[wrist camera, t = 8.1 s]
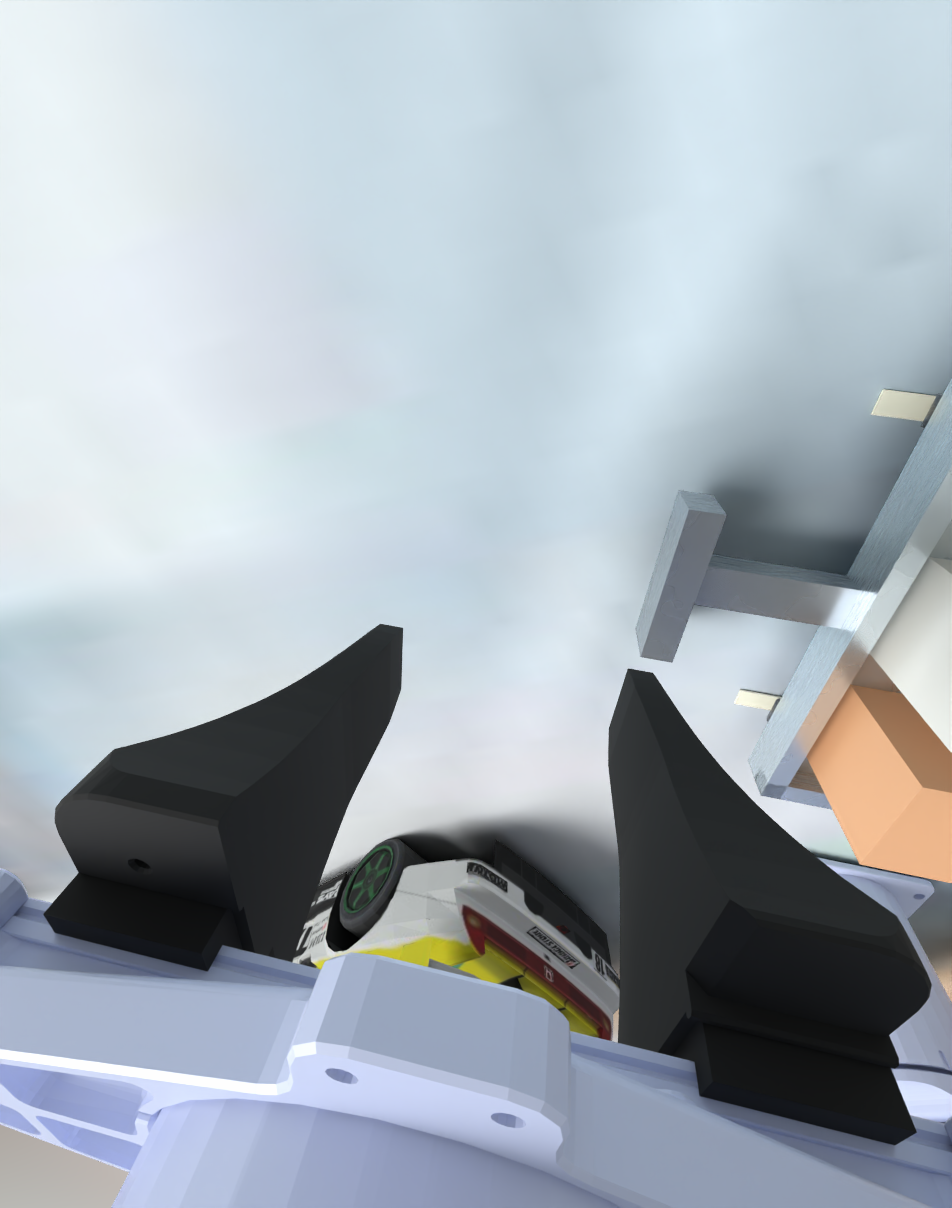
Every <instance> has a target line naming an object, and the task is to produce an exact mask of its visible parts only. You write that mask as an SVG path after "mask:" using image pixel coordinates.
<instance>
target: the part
mask: <svg viewBox="0 0 952 1208" xmlns="http://www.w3.org/2000/svg"><path fill="white" fill-rule="evenodd" d="M870 655H871V656H872V657H873V658H874V659H875V661H876V662H877V663H878V664H879V665H880V667H881V668H882V669H883V670H884V672H885V673H886V674H887V675H888V676H889V678H890V679H891V680H892V681H893V683H894V684H895V685H896V686H897V687H898V689H899V690H900V691H901V692H902V694H903V695H904V696H905V697H906V698H907V700H908V701H909V702H910V703H911V704H912V706H913V707H914V708H915V709H916V711H917V712H918V713H919V714H920V715H921V717H922V718H923V719H924V720H925V722H926V723H927V724H928V725H929V726H930V728H931V729H932V730H933V731H934V732H935V734H936V735H937V736H938V737H939V739H940V740H941V741H942V742H943V743H944V745H945V746H946V747H947V748H948V750H949V751H950V752H951V753H952V560H946V559H940V558H933V557H928V559H927V560H926V562H925V563H924V565H923V567H922V568H921V570H920V572H919V573H918V575H917V577H916V578H915V580H914V581H913V583H912V585H911V586H910V588H909V590H908V591H907V593H906V594H905V596H904V598H903V599H902V601H901V603H900V604H899V606H898V608H897V609H896V611H895V612H894V614H893V616H892V617H891V619H890V621H889V622H888V624H887V625H886V627H885V629H884V630H883V632H882V634H881V635H880V637H879V638H878V640H877V642H876V643H875V645H874V647H873V648H872V650H871V652H870Z"/></svg>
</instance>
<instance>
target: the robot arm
mask: <svg viewBox="0 0 952 1208" xmlns="http://www.w3.org/2000/svg"><path fill="white" fill-rule="evenodd" d="M402 643H403V628H400V627H395V626H389V625H383V624H380V625H378V626H377V627H375V628H374V629H372V630H371V631H370V632H368V633H367V634H366V635H364V636H363V637H362V638H360V639H359V640H358V641H356V642H355V643H353V644H352V645H351V646H349V647H348V648H347V649H345V650H344V651H342V652H341V653H340V654H338V655H337V656H335V657H334V658H332V659H331V660H330V661H328V662H327V663H325V664H324V665H322V666H321V667H319V668H318V669H316V670H314V671H313V672H311V673H310V674H308V675H307V676H305V677H303V678H302V679H300V680H299V681H297V682H295V683H293V684H292V685H290V686H288V687H286V688H284V689H282V690H281V691H279V692H277V693H275V694H273V695H271V696H269V697H267V698H265V699H263V700H260V701H258V702H256V703H254V704H252V705H249V706H247V707H244V708H242V709H240V710H237V711H235V712H233V713H230V714H228V715H226V716H223V717H221V718H218V719H215V720H213V721H210V722H207V723H204V724H201V725H199V726H196V727H193V728H189V729H186V730H183V731H180V732H177V733H174V734H170V735H167V736H164V737H160V738H156V739H152V740H149V741H145V742H141V743H137V744H133V745H130V746H126V747H121V748H117V749H114V750H113V751H112V752H111V753H110V754H108V755H107V756H106V757H105V758H104V759H103V760H102V761H101V762H100V763H99V764H98V765H97V766H96V767H95V768H94V769H93V770H92V771H91V772H90V773H89V774H88V775H87V776H86V777H85V778H84V779H82V780H81V781H80V782H79V783H78V784H77V785H76V786H75V787H74V788H73V789H72V790H71V791H70V792H69V793H68V794H67V795H66V796H65V797H64V798H63V799H62V800H61V801H60V803H59V804H58V805H57V807H56V809H55V824H56V827H57V830H58V833H59V835H60V837H61V839H62V841H63V843H64V845H65V847H66V849H67V851H68V853H69V855H70V857H71V859H72V861H73V862H74V864H75V866H76V868H77V870H78V872H79V873H78V874H77V876H76V877H75V878H74V879H73V880H72V881H71V882H70V884H69V885H68V886H67V887H66V888H65V889H64V891H63V892H62V893H61V894H60V895H59V896H58V897H57V899H56V900H55V901H54V902H53V903H50V902H46V901H42V900H38V899H34V898H30V897H28V893H27V890H26V888H25V886H24V884H23V883H22V881H21V880H20V879H19V878H18V877H17V876H16V875H14V874H13V873H11V872H9V871H8V870H5V869H2V868H0V1125H3V1126H6V1127H8V1128H11V1129H14V1130H16V1131H19V1132H22V1133H25V1134H27V1135H30V1136H33V1137H35V1138H38V1139H41V1140H44V1141H46V1142H49V1143H52V1144H54V1145H57V1146H60V1147H62V1148H65V1149H68V1150H70V1151H73V1152H76V1153H78V1154H81V1155H84V1156H87V1157H89V1158H92V1159H95V1160H97V1161H100V1162H103V1163H105V1164H108V1165H111V1166H113V1167H116V1168H119V1169H122V1170H124V1171H127V1172H129V1174H128V1176H127V1178H126V1180H125V1182H124V1184H123V1185H122V1187H121V1190H120V1191H119V1193H118V1195H117V1197H116V1199H115V1201H114V1203H113V1205H112V1207H111V1208H952V1002H951V1001H950V999H949V997H948V995H947V993H946V991H945V989H944V987H943V985H942V984H941V982H940V980H939V978H938V976H937V974H936V972H935V970H934V969H933V967H932V965H931V963H930V961H929V959H928V957H927V955H926V953H925V952H924V950H923V948H922V946H921V944H920V942H919V940H918V938H917V936H916V935H915V933H914V931H913V929H912V927H911V925H910V923H909V921H908V918H909V917H910V916H911V915H912V914H913V913H914V912H915V911H916V910H917V909H918V908H919V907H920V906H921V905H922V904H923V903H924V902H925V901H926V900H927V899H928V898H929V897H930V896H931V895H932V894H933V893H934V891H935V889H934V887H933V885H932V883H931V882H930V881H927V880H925V879H920V878H915V877H910V876H905V875H900V874H896V873H891V872H886V871H881V870H876V869H871V868H867V867H862V866H857V865H852V864H847V863H842V862H837V861H833V860H828V859H823V858H818V857H816V856H814V855H813V854H812V853H811V852H809V851H808V850H807V849H806V848H805V847H803V846H802V845H801V844H800V843H799V842H797V841H796V840H795V839H794V838H793V837H792V836H790V835H789V834H788V833H787V832H786V831H785V830H784V829H783V828H781V827H780V826H779V825H778V824H777V823H776V822H775V821H774V820H773V819H772V818H770V817H769V816H768V815H767V814H766V813H765V812H764V811H763V810H762V809H761V808H760V807H759V806H758V805H757V804H756V803H755V802H754V801H753V800H752V799H751V798H750V797H749V796H748V795H747V794H746V793H745V792H744V791H743V790H742V789H741V788H740V787H739V786H738V785H737V784H736V783H735V782H734V781H733V780H732V778H731V777H730V776H729V775H728V774H727V773H726V772H725V771H724V770H723V768H722V767H721V766H720V765H719V764H718V762H717V761H716V760H715V759H714V758H713V756H712V755H711V754H710V753H709V752H708V750H707V749H706V748H705V747H704V745H703V744H702V743H701V741H700V740H699V739H698V738H697V736H696V735H695V734H694V732H693V731H692V729H691V728H690V727H689V725H688V724H687V723H686V721H685V720H684V718H683V717H682V715H681V714H680V713H679V711H678V710H677V708H676V707H675V705H674V704H673V702H672V701H671V699H670V698H669V696H668V695H667V693H666V692H665V690H664V689H663V687H662V686H661V684H660V683H659V681H658V680H657V678H656V677H655V675H654V674H653V673H650V672H645V671H639V670H634V669H628V670H627V673H626V677H625V680H624V683H623V686H622V689H621V692H620V695H619V699H618V702H617V705H616V708H615V711H614V714H613V717H612V721H611V724H610V727H609V748H608V766H609V775H610V784H611V793H612V801H613V809H614V818H615V826H616V834H617V843H618V853H619V866H620V994H619V1028H618V1043H617V1042H612V1041H608V1040H604V1039H600V1038H596V1037H592V1036H588V1035H584V1034H580V1033H576V1032H572V1031H570V1026H569V1021H568V1020H567V1019H566V1018H565V1016H564V1015H563V1014H562V1013H561V1012H560V1011H558V1010H557V1009H556V1008H555V1007H554V1006H553V1005H551V1004H550V1003H549V1002H548V1001H547V1000H545V999H543V998H540V997H538V996H535V995H533V994H530V993H527V992H525V991H522V990H519V989H517V988H513V987H508V986H504V985H500V984H496V983H492V982H488V981H484V980H479V979H475V978H471V977H467V976H463V975H459V974H455V973H450V972H446V971H442V970H438V969H434V968H430V967H426V966H422V965H417V964H413V963H409V962H405V961H401V960H397V959H393V958H388V957H384V956H380V955H372V954H363V953H353V952H351V953H347V954H344V955H341V956H337V957H334V958H331V959H329V960H327V961H325V962H324V964H323V966H322V969H317V968H313V967H309V966H305V965H301V964H297V963H293V959H294V956H295V953H296V950H297V947H298V943H299V940H300V937H301V934H302V931H303V928H304V925H305V922H306V919H307V916H308V914H309V911H310V908H311V905H312V902H313V899H314V896H315V893H316V890H317V887H318V885H319V882H320V879H321V876H322V873H323V871H324V868H325V865H326V862H327V860H328V857H329V854H330V851H331V849H332V846H333V843H334V841H335V838H336V835H337V833H338V830H339V828H340V825H341V822H342V820H343V817H344V815H345V812H346V809H347V807H348V805H349V803H350V800H351V798H352V796H353V794H354V792H355V790H356V788H357V786H358V784H359V782H360V780H361V778H362V776H363V774H364V772H365V770H366V768H367V766H368V764H369V762H370V760H371V758H372V756H373V754H374V752H375V750H376V748H377V746H378V744H379V742H380V740H381V738H382V736H383V734H384V732H385V730H386V728H387V726H388V724H389V722H390V719H391V717H392V714H393V711H394V708H395V705H396V702H397V700H398V697H399V694H400V691H401V676H402Z"/></svg>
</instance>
